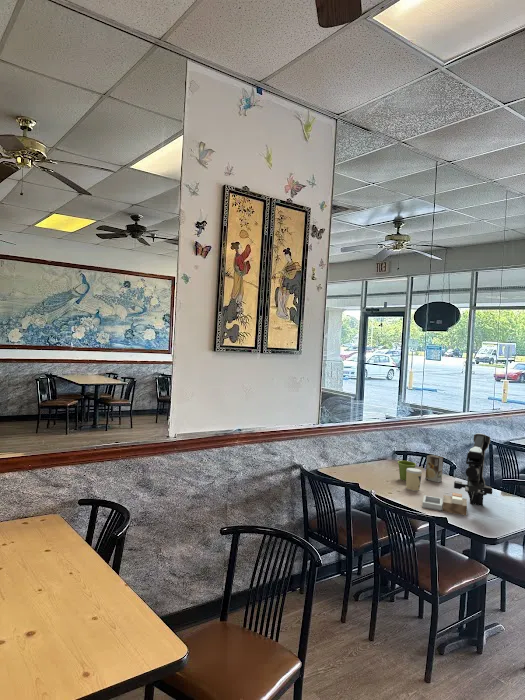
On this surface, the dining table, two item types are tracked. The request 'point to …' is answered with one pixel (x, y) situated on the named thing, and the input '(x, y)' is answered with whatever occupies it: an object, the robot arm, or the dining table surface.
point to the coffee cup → (413, 479)
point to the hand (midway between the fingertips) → (471, 503)
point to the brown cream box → (454, 506)
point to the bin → (432, 503)
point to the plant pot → (403, 466)
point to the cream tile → (457, 500)
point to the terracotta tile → (457, 495)
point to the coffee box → (434, 468)
